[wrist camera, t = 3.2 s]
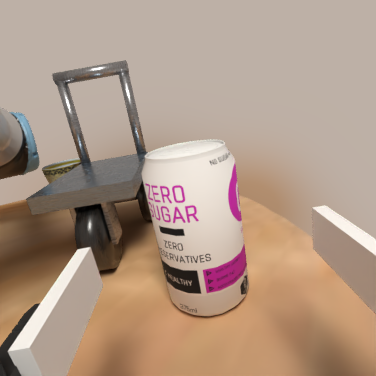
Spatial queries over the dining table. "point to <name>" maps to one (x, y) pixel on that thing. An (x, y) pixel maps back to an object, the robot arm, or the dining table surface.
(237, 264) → the supplement can
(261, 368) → the dining table surface
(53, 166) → the ceramic cup
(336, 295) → the dining table surface
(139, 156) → the trolley
